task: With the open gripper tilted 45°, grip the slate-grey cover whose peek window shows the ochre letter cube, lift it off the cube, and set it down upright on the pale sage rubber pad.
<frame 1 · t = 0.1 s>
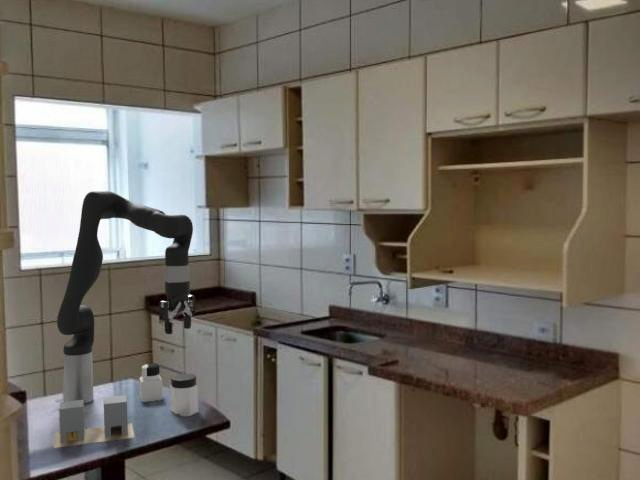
hand: (178, 331, 197), 29 cm above the table, tool pointing down, fingers open, 8 cm apart
cube cover: (72, 437, 185), point 1 cm above the table, touching birch board
letter cube: (72, 437, 185), point 1 cm above the table, touching birch board
medicine bottle: (151, 398, 223), on the table
birch board: (94, 438, 187), on the table
sage pad: (123, 420, 201), on the table
empty cover: (116, 432, 189), point 1 cm above the table, touching birch board
jar: (184, 413, 209), on the table
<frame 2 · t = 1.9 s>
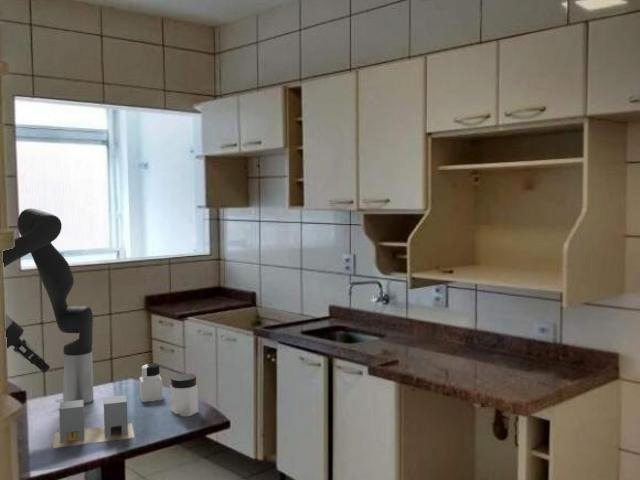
hand: (44, 366, 180), 23 cm above the table, tool tilted 40°, fingers open, 8 cm apart
nothing on the table moved.
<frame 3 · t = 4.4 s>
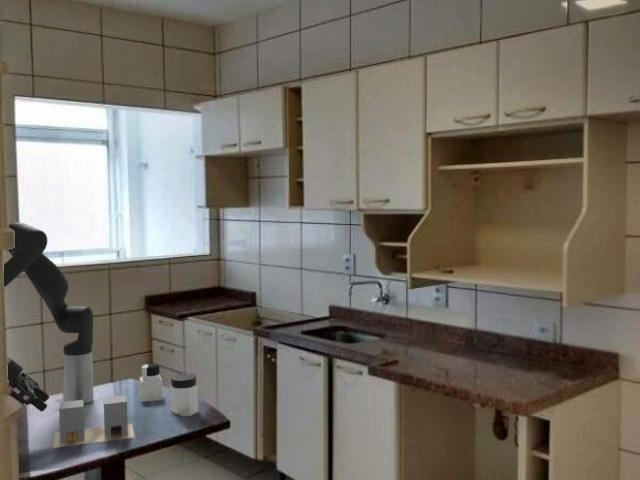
hand: (46, 404, 182), 12 cm above the table, tool tilted 45°, fingers open, 8 cm apart
nothing on the table moved.
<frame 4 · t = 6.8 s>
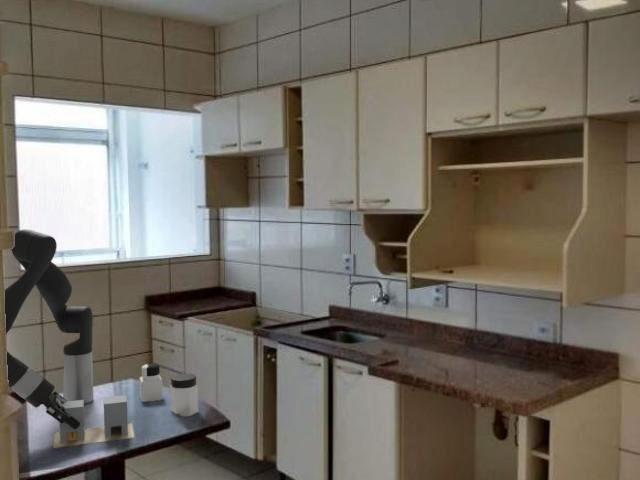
hand: (78, 422, 185), 5 cm above the table, tool tilted 45°, fingers closed on cube cover, 6 cm apart
cube cover: (72, 437, 185), point 1 cm above the table, touching birch board, gripper
everything else where it was.
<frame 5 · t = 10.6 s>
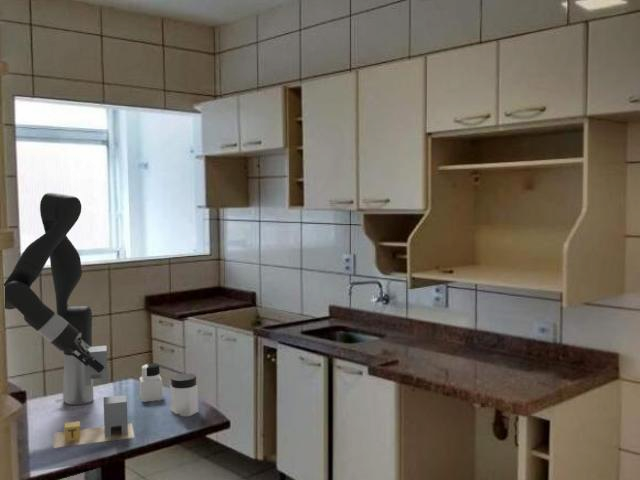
hand: (101, 366, 192), 20 cm above the table, tool tilted 45°, fingers closed on cube cover, 6 cm apart
cube cover: (96, 381, 192), point 15 cm above the table, touching gripper
everything else where it was.
when the fingers open (6 cm above the table, at t = 14.5 s): cube cover drops 1 cm, resting on sage pad.
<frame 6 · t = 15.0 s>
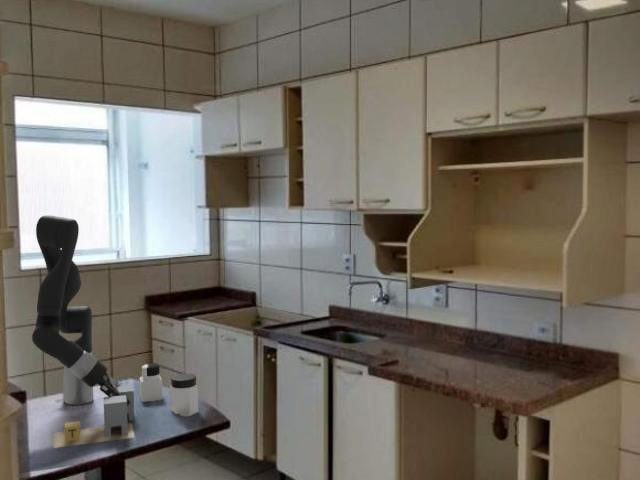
hand: (127, 400, 201), 6 cm above the table, tool tilted 45°, fingers open, 8 cm apart
cube cover: (123, 419, 201), resting on sage pad
everything else where it was.
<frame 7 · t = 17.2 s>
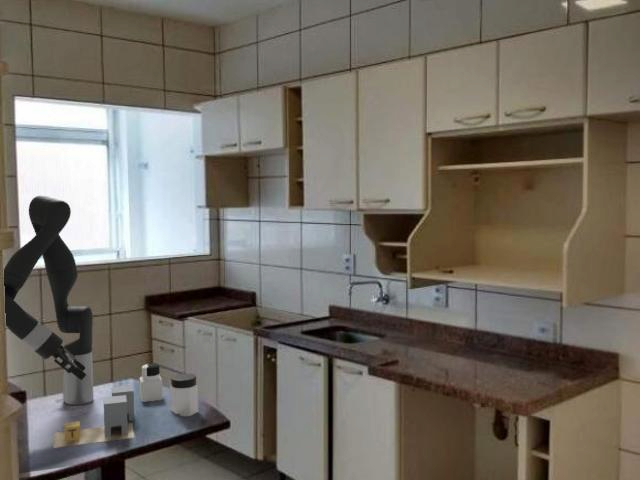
hand: (83, 373, 196), 16 cm above the table, tool tilted 45°, fingers open, 8 cm apart
nothing on the table moved.
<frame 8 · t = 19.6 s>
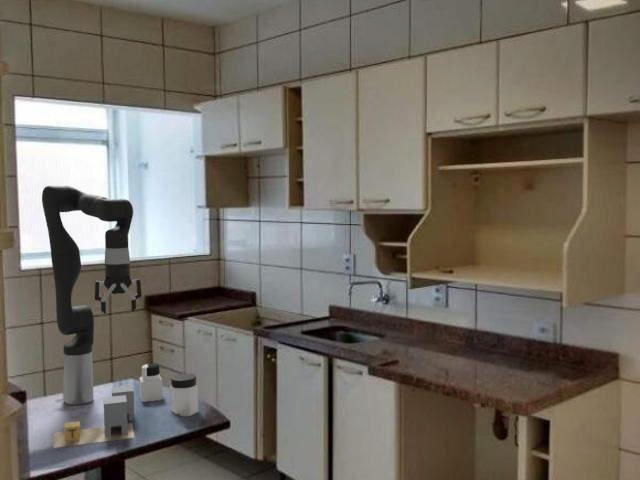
hand: (118, 312, 203), 34 cm above the table, tool pointing down, fingers open, 8 cm apart
nothing on the table moved.
at the end: cube cover inside the target area (0.2 cm from its centre), resting on sage pad; cube cover tilted 0°; letter cube moved 0.0 cm from its start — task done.
